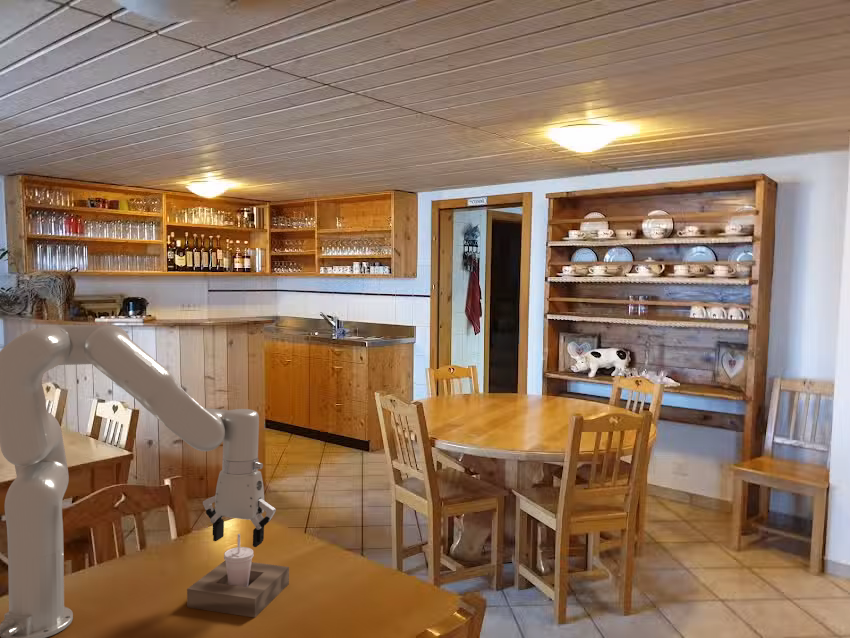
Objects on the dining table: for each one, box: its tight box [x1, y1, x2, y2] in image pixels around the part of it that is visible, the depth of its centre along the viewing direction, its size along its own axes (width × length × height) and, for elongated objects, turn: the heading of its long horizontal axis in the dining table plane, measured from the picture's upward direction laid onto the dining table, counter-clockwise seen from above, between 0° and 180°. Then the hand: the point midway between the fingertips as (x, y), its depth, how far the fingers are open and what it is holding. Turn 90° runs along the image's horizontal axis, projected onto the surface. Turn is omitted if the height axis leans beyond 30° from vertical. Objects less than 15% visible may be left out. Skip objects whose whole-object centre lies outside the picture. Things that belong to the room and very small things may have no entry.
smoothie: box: [223, 533, 255, 587], centre depth 145 cm, size 6×6×14 cm
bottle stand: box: [186, 560, 290, 618], centre depth 145 cm, size 16×16×4 cm
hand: (237, 541), depth 144 cm, fingers open, 9 cm apart
